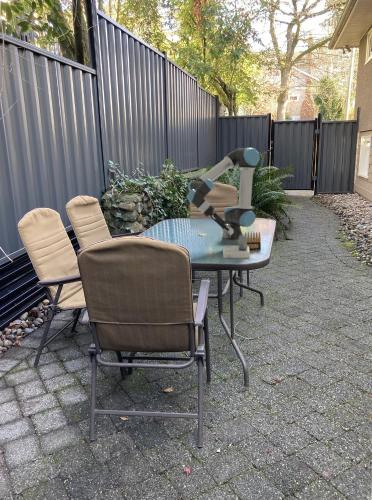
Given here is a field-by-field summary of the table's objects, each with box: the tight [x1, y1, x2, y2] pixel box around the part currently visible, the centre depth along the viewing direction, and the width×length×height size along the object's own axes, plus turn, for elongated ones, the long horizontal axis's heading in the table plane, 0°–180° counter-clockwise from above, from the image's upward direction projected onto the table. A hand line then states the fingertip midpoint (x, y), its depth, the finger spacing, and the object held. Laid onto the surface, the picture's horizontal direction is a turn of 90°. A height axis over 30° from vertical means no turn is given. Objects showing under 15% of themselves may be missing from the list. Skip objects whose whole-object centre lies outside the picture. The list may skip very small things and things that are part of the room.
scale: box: [222, 245, 251, 259], centre depth 241 cm, size 17×16×4 cm
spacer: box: [222, 224, 231, 240], centre depth 255 cm, size 5×5×9 cm
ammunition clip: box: [244, 231, 262, 251], centre depth 250 cm, size 11×2×12 cm, turn 88°
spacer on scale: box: [238, 234, 248, 251], centre depth 235 cm, size 5×5×9 cm
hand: (232, 232), depth 255 cm, fingers closed on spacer, 5 cm apart
